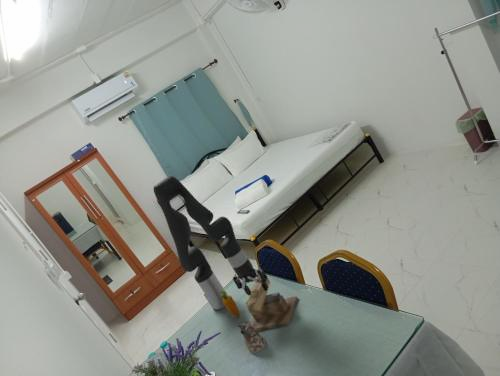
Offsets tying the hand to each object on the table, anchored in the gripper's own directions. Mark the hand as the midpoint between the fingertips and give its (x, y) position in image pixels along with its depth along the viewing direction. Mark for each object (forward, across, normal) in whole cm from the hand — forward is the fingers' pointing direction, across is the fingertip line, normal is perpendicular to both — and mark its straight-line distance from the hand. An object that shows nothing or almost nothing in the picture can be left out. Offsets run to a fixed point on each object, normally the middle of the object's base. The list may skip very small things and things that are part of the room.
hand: (258, 292), depth 188 cm
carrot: (+13, +21, -5) cm, 25 cm away
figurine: (+13, +2, +17) cm, 22 cm away
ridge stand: (+13, 0, 0) cm, 13 cm away
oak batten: (+3, 0, 0) cm, 3 cm away
